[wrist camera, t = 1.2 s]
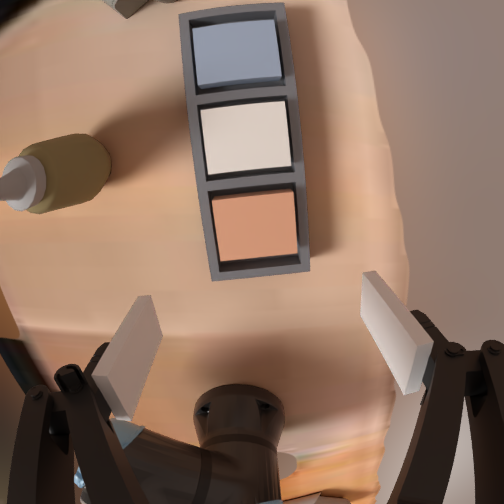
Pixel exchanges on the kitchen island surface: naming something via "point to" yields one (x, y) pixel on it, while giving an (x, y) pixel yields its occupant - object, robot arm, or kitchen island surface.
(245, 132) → the off-white key
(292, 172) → the grey compartment tray
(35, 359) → the kitchen island surface
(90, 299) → the kitchen island surface
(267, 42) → the slate key
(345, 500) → the bent grey cylinder
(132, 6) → the digital clock
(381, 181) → the kitchen island surface
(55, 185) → the squeeze bottle
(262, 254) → the terracotta key
